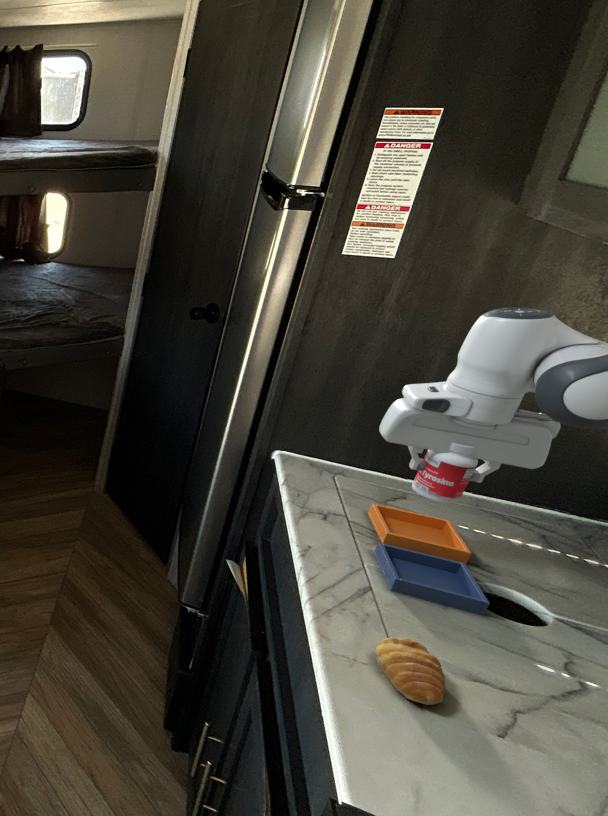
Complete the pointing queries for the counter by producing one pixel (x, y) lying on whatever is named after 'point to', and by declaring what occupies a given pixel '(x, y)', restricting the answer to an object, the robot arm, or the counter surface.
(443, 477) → the pill bottle
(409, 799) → the counter surface
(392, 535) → the amber tray
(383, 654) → the pastry
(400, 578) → the blue tray
